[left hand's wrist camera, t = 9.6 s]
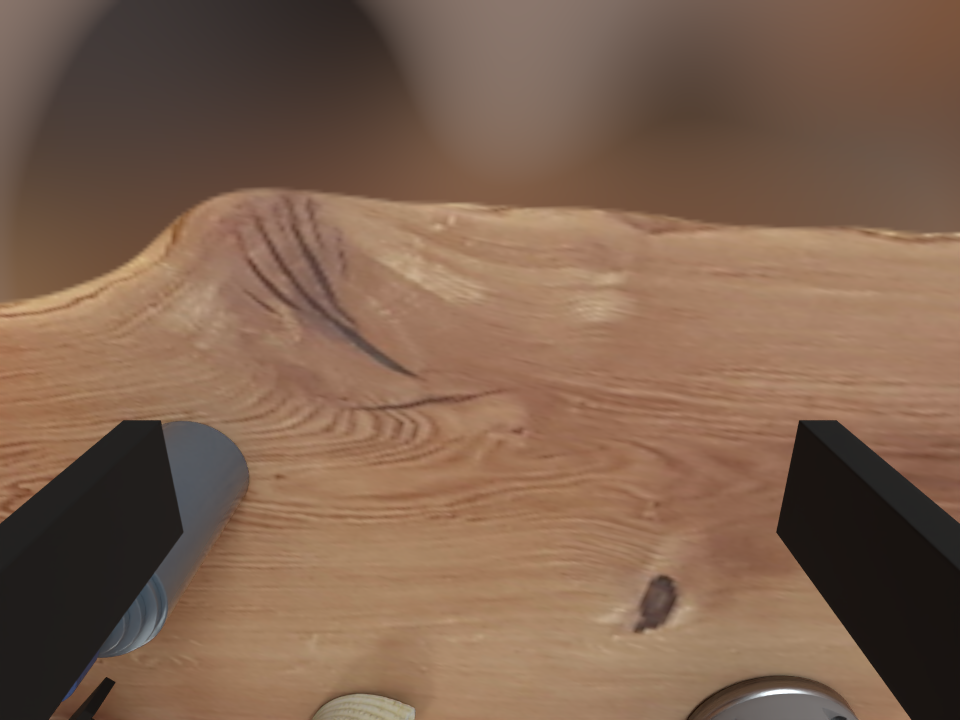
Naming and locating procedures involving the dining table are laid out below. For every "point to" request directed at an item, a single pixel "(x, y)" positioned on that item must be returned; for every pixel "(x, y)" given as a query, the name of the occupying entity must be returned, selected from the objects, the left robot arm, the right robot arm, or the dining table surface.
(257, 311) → the dining table surface
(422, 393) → the dining table surface
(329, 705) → the seashell
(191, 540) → the bottle
